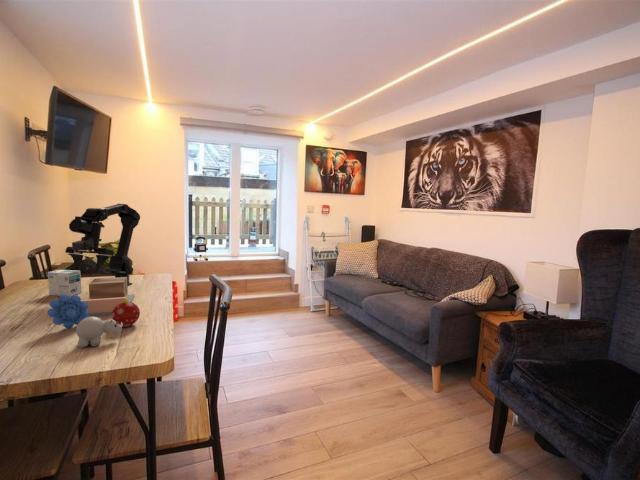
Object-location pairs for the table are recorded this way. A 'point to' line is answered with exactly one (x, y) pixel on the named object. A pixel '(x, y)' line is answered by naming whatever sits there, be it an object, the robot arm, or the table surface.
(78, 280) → the light bulb box
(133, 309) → the christmas ornament
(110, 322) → the round bodied animal figurine
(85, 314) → the blue lumpy rosette
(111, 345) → the table surface
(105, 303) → the stop bar
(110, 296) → the walnut slab
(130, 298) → the slate board
